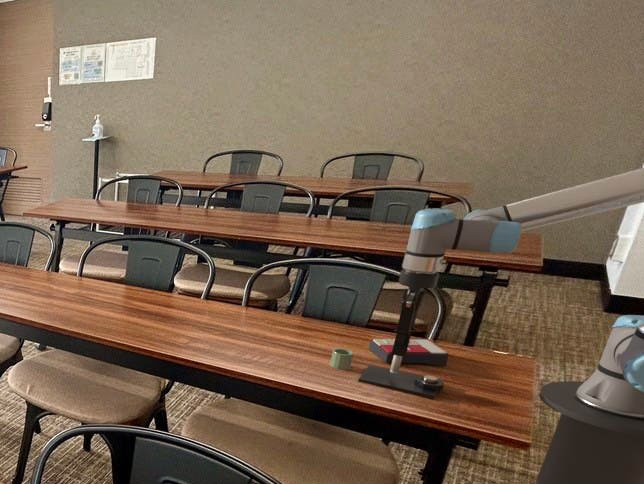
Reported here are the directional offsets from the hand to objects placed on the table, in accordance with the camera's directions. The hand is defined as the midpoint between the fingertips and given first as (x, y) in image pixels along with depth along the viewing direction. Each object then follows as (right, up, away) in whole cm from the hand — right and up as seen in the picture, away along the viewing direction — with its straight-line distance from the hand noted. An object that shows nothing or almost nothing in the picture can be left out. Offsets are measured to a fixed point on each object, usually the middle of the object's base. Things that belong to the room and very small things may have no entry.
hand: (398, 353), depth 156 cm
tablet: (+2, -8, +2) cm, 9 cm away
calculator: (+16, -2, +16) cm, 23 cm away
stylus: (0, -6, +2) cm, 6 cm away
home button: (+6, -7, -3) cm, 10 cm away
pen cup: (-6, -5, +13) cm, 15 cm away
